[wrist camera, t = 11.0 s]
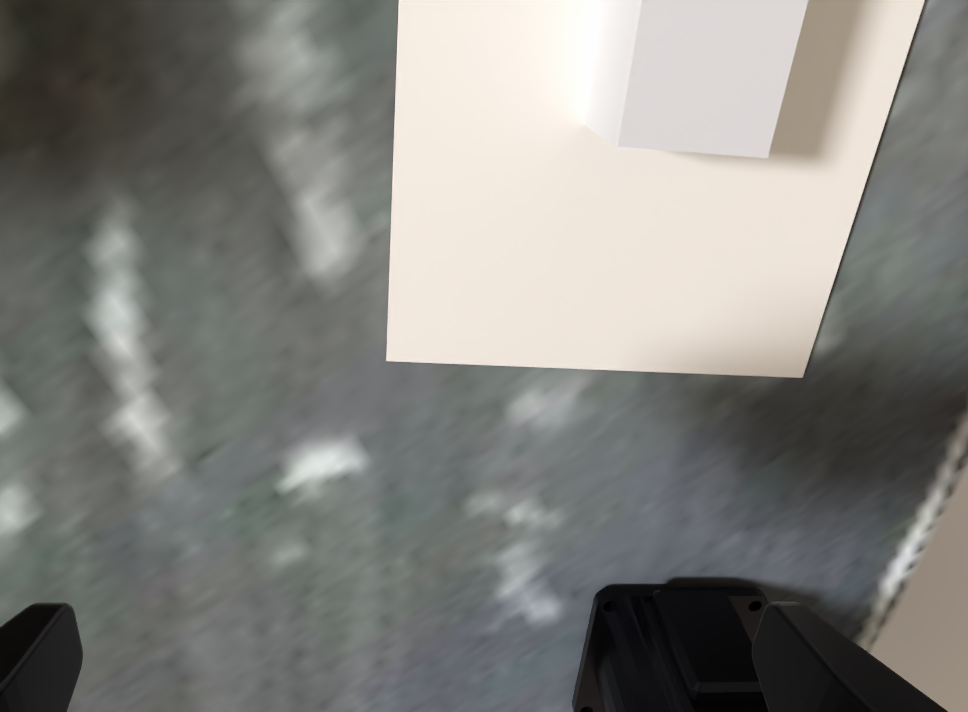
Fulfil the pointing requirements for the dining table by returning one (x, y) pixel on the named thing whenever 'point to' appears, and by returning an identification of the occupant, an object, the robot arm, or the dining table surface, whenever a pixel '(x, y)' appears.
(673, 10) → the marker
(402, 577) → the dining table surface
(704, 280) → the paper
